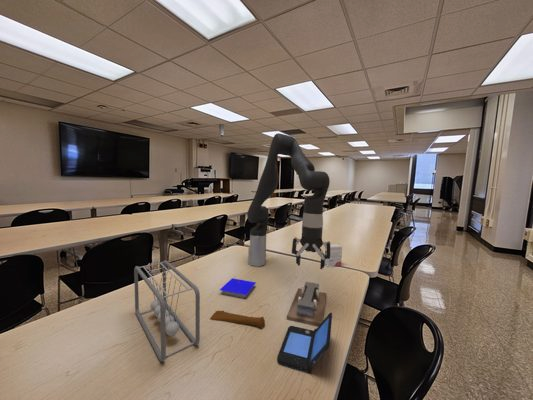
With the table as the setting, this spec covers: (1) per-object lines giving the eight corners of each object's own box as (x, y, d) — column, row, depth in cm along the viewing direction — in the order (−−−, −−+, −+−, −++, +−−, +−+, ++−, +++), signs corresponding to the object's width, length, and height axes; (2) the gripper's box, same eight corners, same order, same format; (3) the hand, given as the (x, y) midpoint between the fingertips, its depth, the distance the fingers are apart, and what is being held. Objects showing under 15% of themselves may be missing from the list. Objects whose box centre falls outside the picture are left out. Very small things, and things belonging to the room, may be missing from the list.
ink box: (337, 263, 136) (338, 243, 135) (341, 266, 131) (342, 246, 130) (323, 263, 134) (324, 244, 133) (327, 267, 130) (328, 246, 128)
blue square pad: (219, 295, 96) (219, 282, 95) (231, 283, 107) (232, 271, 107) (246, 300, 92) (246, 287, 92) (256, 287, 104) (256, 275, 103)
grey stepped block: (296, 315, 81) (297, 304, 80) (305, 290, 99) (305, 281, 98) (312, 318, 79) (313, 307, 79) (318, 293, 97) (319, 283, 97)
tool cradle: (286, 319, 80) (287, 305, 80) (298, 290, 101) (298, 279, 100) (321, 327, 76) (322, 312, 76) (326, 295, 97) (326, 284, 97)
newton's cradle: (134, 313, 81) (133, 264, 80) (165, 303, 88) (165, 258, 86) (161, 366, 59) (161, 300, 57) (200, 347, 66) (200, 288, 64)
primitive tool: (209, 320, 79) (209, 310, 79) (216, 311, 84) (216, 302, 84) (262, 331, 74) (262, 321, 74) (266, 321, 79) (267, 312, 79)
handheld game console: (289, 328, 75) (290, 302, 75) (330, 339, 71) (332, 310, 70) (275, 365, 61) (276, 332, 60) (327, 380, 56) (329, 345, 56)
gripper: (291, 224, 84) (289, 267, 86) (331, 228, 80) (328, 273, 81) (295, 221, 91) (293, 260, 93) (332, 224, 87) (329, 266, 88)
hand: (310, 266), depth 87 cm, fingers open, 8 cm apart
